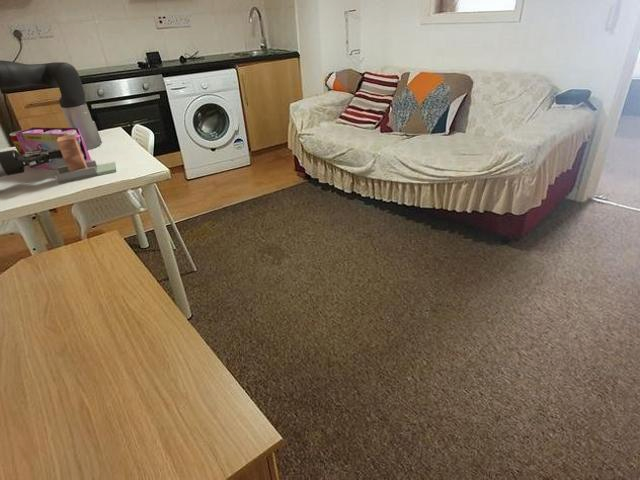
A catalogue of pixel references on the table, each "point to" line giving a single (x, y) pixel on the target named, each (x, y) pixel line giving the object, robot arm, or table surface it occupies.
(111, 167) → the chute
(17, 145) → the canned food
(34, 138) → the gum box
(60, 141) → the block
